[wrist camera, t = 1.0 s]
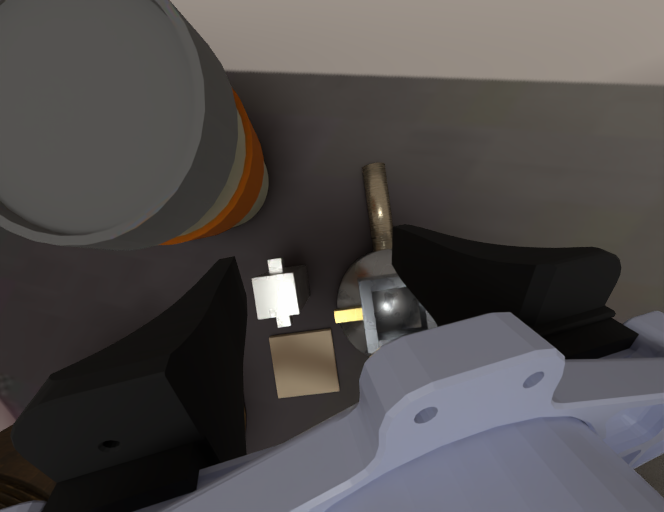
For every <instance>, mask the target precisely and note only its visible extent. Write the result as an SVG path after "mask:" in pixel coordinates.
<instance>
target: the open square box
mask: <svg viewBox="0 0 664 512" xmlns="http://www.w3.org/2000/svg"><path fill="white" fill-rule="evenodd" d="M357 282H358V289H359V296H360V304H361V306H355V307H347V308H340V309H334V314H335V321H336V323H341V322H349V321H357V320H363V325H364V332H365V339H366V346H367V350H368V353H374V352H375V351H376V350H377V349H378V348H379V347H380V346H382V345H384V344H386V343H388V342H390V341H392V340H395V339H397V338H399V337H401V336H405V335H409V334H413V333H416V332H420V331H424V330H427V329H431V328H435V327H438V326H437V324H436V322H435V321H434V319H433V318H432V317H431V316H430V314H429V313H428V312H427V310H426V309H425V308H424V307H423V306H422V304H421V303H420V302H419V301H418V304H419V312H420V320H421V327H416V328H408V329H400V330H392V331H384V332H377V329H376V322H375V315H374V307H373V300H372V293H371V291H378V290H386V289H393V288H401V287H406V285H405V284H404V283H403V282H402V280H401V279H400V278H399V276H398V274H397V273H393V274H385V275H378V276H371V277H363V278H357Z"/></svg>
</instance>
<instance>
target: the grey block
mask: <svg viewBox="0 0 664 512" xmlns="http://www.w3.org/2000/svg"><path fill="white" fill-rule="evenodd" d="M268 265H269V272H267V273H264V274H262V275H259V276H257V277H254V278H252V283H253V290H254V296H255V302H256V309H257V315H258V319H265V318H272V317H276V318H277V324H278V327H284V326H291V325H292V323H293V317H292V315H295V314H299V313H300V312H301V310H302V308H303V307H304V305H305V303H306V302H307V300H308V298H309V297H310V288H309V281H308V275H307V268H306V265H300V266H293V267H286V268H285V264H284V258H277V259H271V260H268Z"/></svg>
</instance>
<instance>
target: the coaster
mask: <svg viewBox="0 0 664 512" xmlns="http://www.w3.org/2000/svg"><path fill="white" fill-rule="evenodd" d="M269 341H270V348H271V354H272V361H273V367H274V373H275V380H276V386H277V393H278V398H285V397H293V396H302V395H310V394H319V393H327V392H336V391H339V381H338V374H337V368H336V361H335V354H334V347H333V340H332V333H331V328H329V329H321V330H314V331H306V332H298V333H290V334H283V335H275V336H270V338H269Z"/></svg>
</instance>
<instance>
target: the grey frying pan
mask: <svg viewBox="0 0 664 512" xmlns="http://www.w3.org/2000/svg"><path fill="white" fill-rule="evenodd" d="M362 169H363V177H364V184H365V192H366V199H367V206H368V214H369V221H370V228H371V236H372V243H373V250H374V251H372V252H369V253H367V254H365V255H363V256H362V257H360V258H359V259H357V260H356V261H355V262H354V263H353V264H352V265H351V266H350V267H349V268H348V270H347V271H346V273H345V274H344V276H343V278H342V280H341V283H340V286H339V291H338V299H337V309H340V308H347V307H355V306H361V304H360V296H359V289H358V282H357V278H363V277H371V276H378V275H385V274H393V273H396V271H395V269H394V268H393V266H392V264H391V263H392V231H393V223H392V216H391V208H390V201H389V193H388V186H387V178H386V170H385V164H384V163H373V164H369V165H366V166H364V167H363V168H362ZM371 293H372V300H373V307H374V315H375V322H376V329H377V332H384V331H392V330H400V329H408V328H416V327H421V320H420V312H419V304H418V300H417V299H416V297H415V296H414V295H413V294H412V293H411V291H410V290H409V289H408V288H407V287H401V288H393V289H386V290H378V291H371ZM340 325H341V328H342V330H343V332H344V333H345V335H346V337H347V338H348V340H349V341H350V342H351V343H352V344H353V345H354V346H355V347H356V348H357V349H358V350H359V351H361V352H362V353H364V354H365V355H367V356H369V357H370V356H371V355H372V354H373V353H368V350H367V346H366V339H365V332H364V325H363V320H357V321H349V322H341V323H340Z"/></svg>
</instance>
